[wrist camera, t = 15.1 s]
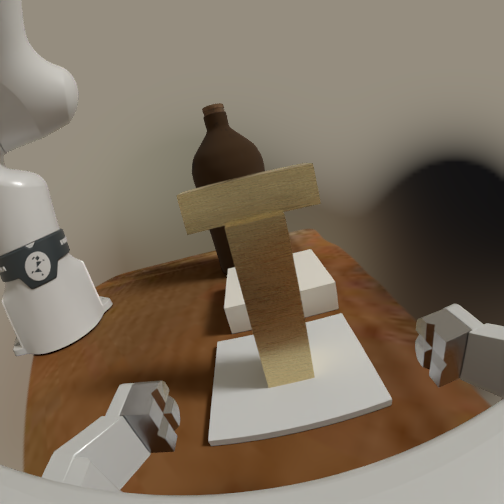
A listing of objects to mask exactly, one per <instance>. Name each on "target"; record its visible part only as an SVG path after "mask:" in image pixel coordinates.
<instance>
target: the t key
mask: <svg viewBox="0 0 504 504" xmlns="http://www.w3.org/2000/svg"><path fill="white" fill-rule="evenodd" d="M177 199H178V203H179V206H180V210H181V214H182V217H183V221H184V224H185V228H186V231H187V235H189V234H193V233H197V232H201V231H205V230H209V229H213V228H217V227H222V226H225V231H226V235H227V239H228V243H229V247H230V250H231V254H232V258H233V262H234V265H235V269H236V273H237V277H238V280H239V284H240V288H241V291H242V295H243V299H244V302H245V306H246V310H247V313H248V317H249V320H250V324H251V328H252V331H253V335H254V338H255V342H256V345H257V349H258V352H259V356H260V359H261V363H262V366H263V370H264V373H265V377H266V380H267V384H268V387H269V388H271V387H276V386H281V385H285V384H290V383H294V382H298V381H303V380H307V379H311V378H315V376H314V370H313V364H312V358H311V352H310V346H309V340H308V334H307V328H306V323H305V317H304V311H303V306H302V300H301V295H300V290H299V284H298V279H297V274H296V269H295V264H294V258H293V253H292V248H291V244H290V239H289V234H288V229H287V224H286V219H285V215H284V213H283V212H285V211H290V210H294V209H298V208H303V207H308V206H312V205H317V204H320V198H319V192H318V187H317V182H316V177H315V172H314V167H313V163H302V164H297V165H293V166H288V167H283V168H278V169H274V170H269V171H265V172H260V173H256V174H251V175H247V176H243V177H239V178H234V179H230V180H226V181H222V182H218V183H214V184H210V185H207V186H203V187H199V188H195V189H191V190H188V191H184V192H182V193H180V194H179V195H177Z"/></svg>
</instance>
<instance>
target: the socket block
mask: <svg viewBox="0 0 504 504" xmlns="http://www.w3.org/2000/svg"><path fill="white" fill-rule="evenodd" d="M293 258H294V264H295V269H296V274H297V279H298V284H299V290H300V295H301V300H302V306H303V311H304V317H309V316H313V315H317V314H320V313H324V312H328V311H332V310H336V309H339V308H338V299H337V291H336V284H335V281H334V280H333V278H332V277H331V276H330V274H329V273H328V272H327V270H326V269H325V267H324V266H323V265H322V263H321V262H320V261H319V259H318V258H317V257H316V255H315V254H314V253H313V251H312V250H311V249H310V250H306V251H301V252H297V253H293ZM224 310H225V313H226V316H227V320H228V323H229V326H230V329H231V332H232V334H234V333H238V332H243V331H248V330H252V328H251V324H250V320H249V317H248V313H247V310H246V306H245V302H244V299H243V295H242V291H241V288H240V284H239V280H238V277H237V273H236V269H235V267H233V268H229V269H228V274H227V283H226V293H225V304H224Z"/></svg>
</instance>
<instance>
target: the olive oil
mask: <svg viewBox="0 0 504 504" xmlns="http://www.w3.org/2000/svg"><path fill="white" fill-rule="evenodd" d="M223 108H224V106H223V104H220V103H219V104H213V105H209V106H206V107H204V108H203V109H202V110H203V113H204V116H205V117H204V122H205V125H206V128H207V134H206V136H205V138H204V140H203V141H202V143H201V145H200V147H199V149H198V151H197V152H196V154H195V156H194V159H193V164H192V175H193V180H194V183H195V186H196V188H199V187H203V186H207V185H210V184H214V183H218V182H222V181H226V180H230V179H234V178H239V177H243V176H247V175H251V174H256V173H260V172H265V170H264V163H263V159H262V156H261V154H260V152H259V151H258V149H257V147H256V146H255V145H254V144H253V143H252V142H251V141H249V140H248V139H246V138H245V137H243V136H242V135H240V134H239V133H237V132H236V131H234V130H233V129H231V128H230V127H229V125H228V120H227V115H226V112H224V109H223ZM209 230H210V233H211V235H212V239H213V242H214V245H215V249H216V252H217V255H218V258H219V262H220V265H221V268H222V270H223V272H224V273H226V274H228V269H229V268H233V267H235V265H234V262H233V258H232V254H231V250H230V247H229V243H228V239H227V235H226V231H225V226H222V227H217V228H213V229H209Z"/></svg>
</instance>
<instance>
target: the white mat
mask: <svg viewBox="0 0 504 504" xmlns="http://www.w3.org/2000/svg"><path fill="white" fill-rule="evenodd" d="M306 328H307V334H308V340H309V346H310V352H311V358H312V364H313V370H314V376H315V378H311V379H307V380H303V381H298V382H294V383H290V384H285V385H281V386H276V387H271V388H269V387H268V384H267V380H266V377H265V373H264V370H263V366H262V363H261V359H260V356H259V352H258V349H257V345H256V342H255V338H254V335H250V336H245V337H240V338H235V339H230V340H225V341H220V342H218V343H217V353H216V363H215V372H214V383H213V393H212V403H211V414H210V425H209V437H208V442H209V443H210V445H211V446H217V445H226V444H234V443H241V442H248V441H255V440H261V439H267V438H272V437H278V436H283V435H288V434H293V433H297V432H302V431H306V430H310V429H314V428H318V427H322V426H326V425H330V424H334V423H337V422H341V421H344V420H348V419H351V418H354V417H358V416H361V415H364V414H367V413H370V412H373V411H376V410H379V409H382V408H384V407H387V406H390V405H392V398H391V396H390V395H389V393H388V391H387V389H386V388H385V386H384V384H383V382H382V381H381V379H380V377H379V375H378V374H377V372H376V370H375V368H374V367H373V365H372V363H371V361H370V360H369V358H368V356H367V355H366V353H365V351H364V350H363V348H362V346H361V344H360V343H359V341H358V339H357V338H356V336H355V334H354V333H353V331H352V329H351V328H350V326H349V324H348V323H347V321H346V320H345V318H344V316H343V315H342V313H341V314H337V315H333V316H330V317H326V318H322V319H318V320H314V321H310V322H306Z"/></svg>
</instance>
